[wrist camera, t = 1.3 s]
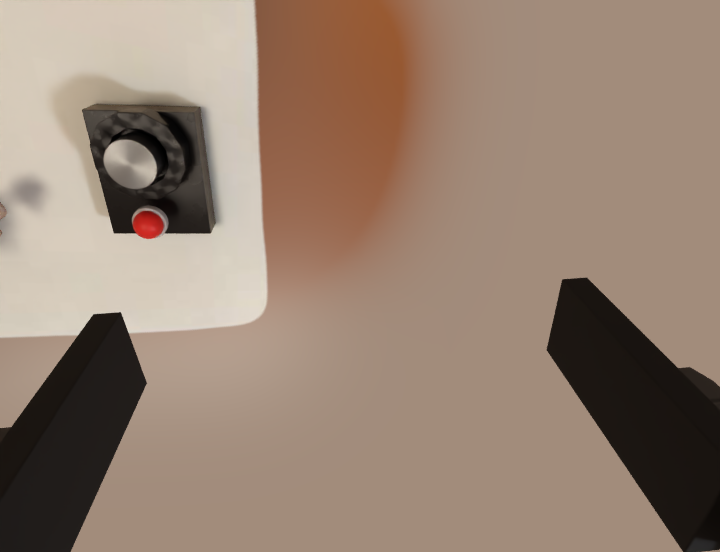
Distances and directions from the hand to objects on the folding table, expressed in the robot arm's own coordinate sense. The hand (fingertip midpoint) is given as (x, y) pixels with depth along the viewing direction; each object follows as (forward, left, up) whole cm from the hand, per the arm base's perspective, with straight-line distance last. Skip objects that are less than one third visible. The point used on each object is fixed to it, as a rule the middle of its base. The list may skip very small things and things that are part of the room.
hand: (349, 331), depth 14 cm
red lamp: (+14, -7, -24) cm, 28 cm away
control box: (+12, -9, -28) cm, 31 cm away
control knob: (+10, -10, -24) cm, 28 cm away
